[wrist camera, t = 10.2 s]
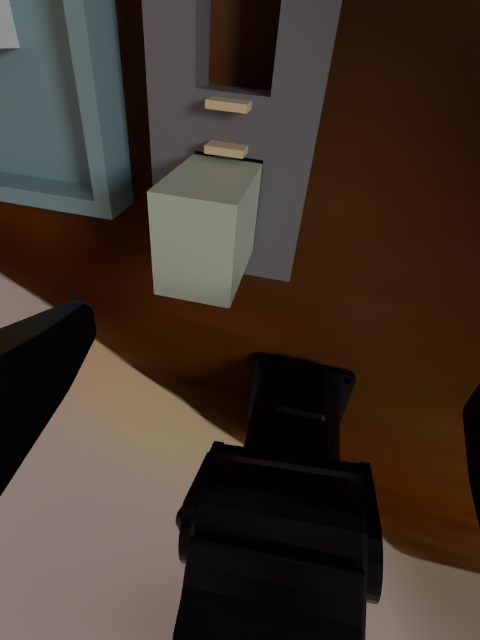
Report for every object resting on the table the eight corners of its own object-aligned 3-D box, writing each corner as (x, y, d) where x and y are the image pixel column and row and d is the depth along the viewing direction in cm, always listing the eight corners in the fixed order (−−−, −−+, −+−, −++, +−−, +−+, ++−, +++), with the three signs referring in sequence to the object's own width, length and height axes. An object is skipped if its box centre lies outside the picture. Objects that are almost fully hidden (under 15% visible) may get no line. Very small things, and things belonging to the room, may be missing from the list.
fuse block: (292, 263, 21) (287, 292, 18) (170, 242, 21) (149, 267, 19) (441, -527, 8) (482, -745, 6) (143, -509, 9) (78, -694, 7)
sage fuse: (260, 231, 20) (229, 308, 14) (205, 222, 20) (154, 294, 15) (269, 151, 18) (237, 205, 12) (207, 142, 18) (146, 191, 12)
